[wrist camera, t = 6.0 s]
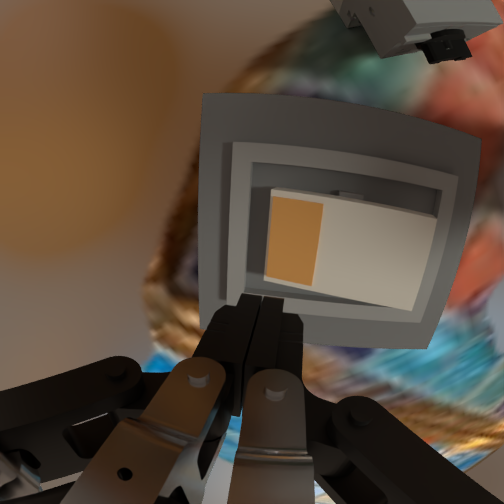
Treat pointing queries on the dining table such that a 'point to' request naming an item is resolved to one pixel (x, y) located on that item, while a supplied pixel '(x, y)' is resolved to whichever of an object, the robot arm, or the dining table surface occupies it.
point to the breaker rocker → (347, 247)
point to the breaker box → (333, 183)
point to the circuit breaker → (420, 25)
